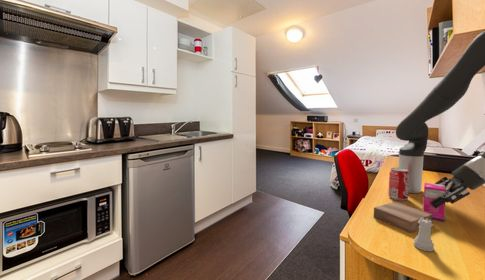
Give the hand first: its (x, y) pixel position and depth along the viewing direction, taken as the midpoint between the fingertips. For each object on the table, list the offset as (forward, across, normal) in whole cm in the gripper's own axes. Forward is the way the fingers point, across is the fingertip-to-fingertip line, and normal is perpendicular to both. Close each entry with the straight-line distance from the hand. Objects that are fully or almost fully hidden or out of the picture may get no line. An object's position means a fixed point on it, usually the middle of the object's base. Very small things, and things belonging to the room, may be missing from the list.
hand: (428, 201), depth 79 cm
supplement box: (+3, 0, +5) cm, 6 cm away
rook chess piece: (+9, +24, -2) cm, 26 cm away
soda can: (+8, -16, 0) cm, 18 cm away
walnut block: (+11, +8, -3) cm, 13 cm away
